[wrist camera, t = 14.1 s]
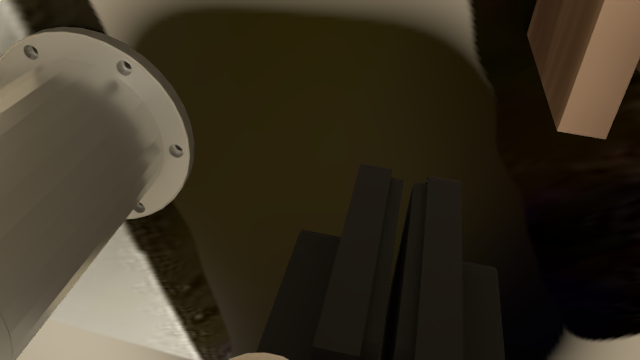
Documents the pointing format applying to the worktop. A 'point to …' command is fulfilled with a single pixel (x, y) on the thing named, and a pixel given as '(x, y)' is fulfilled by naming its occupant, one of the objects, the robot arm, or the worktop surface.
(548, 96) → the domino
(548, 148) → the worktop surface
